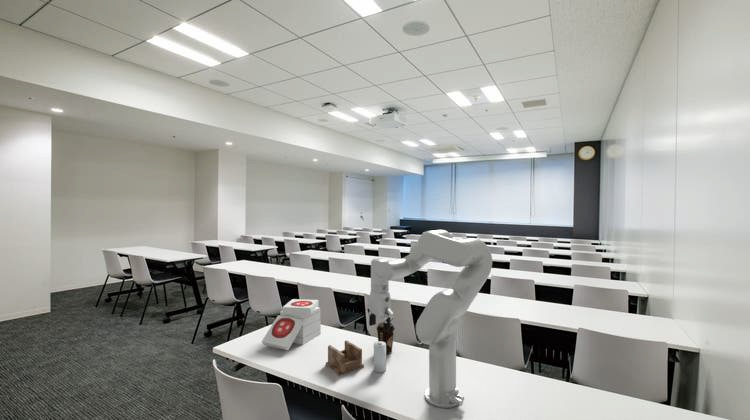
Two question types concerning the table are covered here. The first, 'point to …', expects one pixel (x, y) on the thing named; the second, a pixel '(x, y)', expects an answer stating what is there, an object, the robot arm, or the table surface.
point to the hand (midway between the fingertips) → (379, 328)
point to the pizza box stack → (295, 324)
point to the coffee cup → (386, 336)
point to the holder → (345, 359)
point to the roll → (379, 357)
